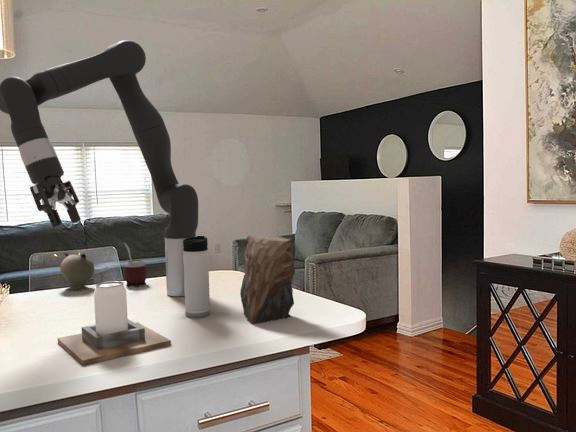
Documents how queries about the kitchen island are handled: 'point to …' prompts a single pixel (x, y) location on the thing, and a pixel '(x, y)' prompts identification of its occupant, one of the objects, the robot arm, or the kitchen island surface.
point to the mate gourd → (135, 271)
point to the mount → (111, 343)
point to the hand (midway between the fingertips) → (67, 223)
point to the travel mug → (196, 277)
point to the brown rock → (267, 279)
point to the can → (110, 307)
